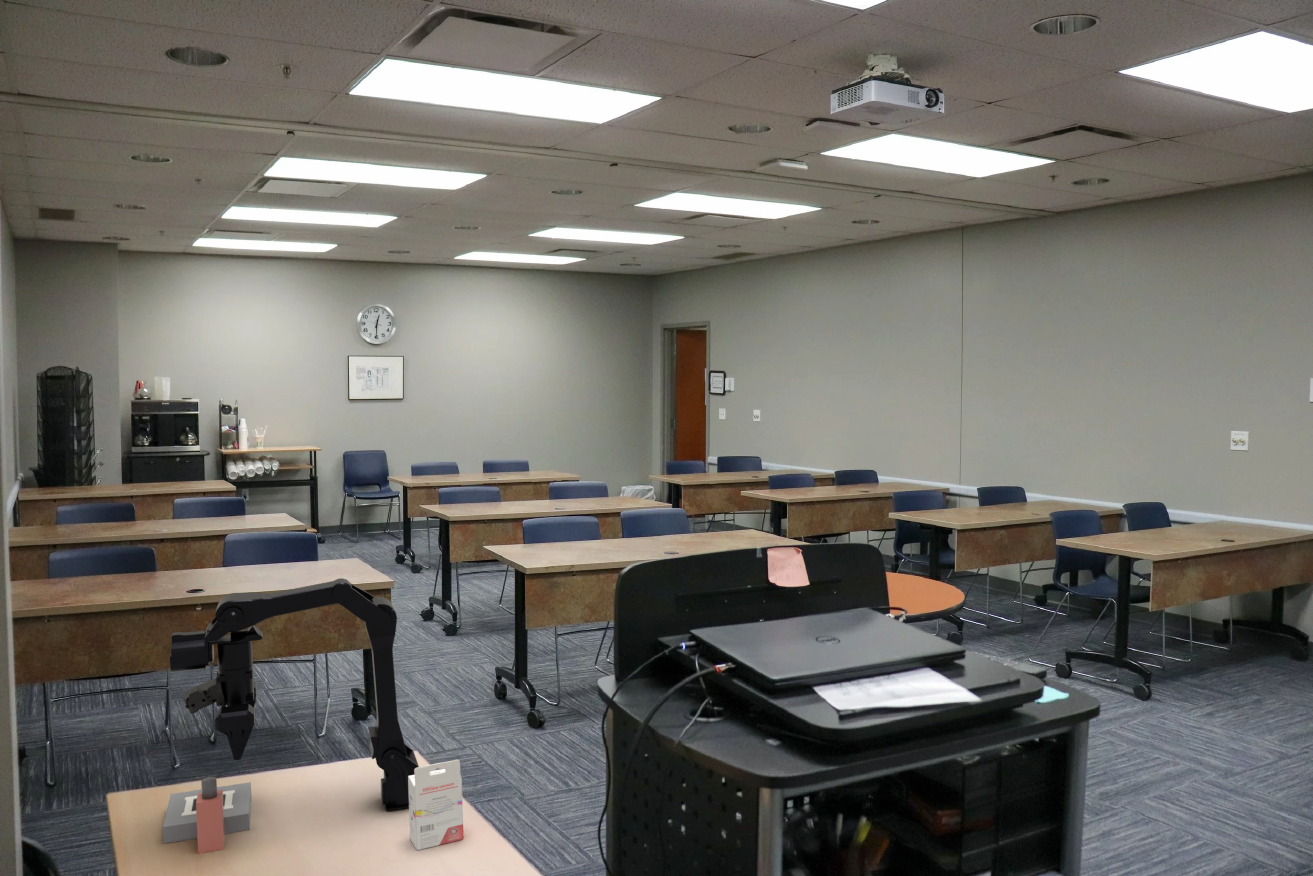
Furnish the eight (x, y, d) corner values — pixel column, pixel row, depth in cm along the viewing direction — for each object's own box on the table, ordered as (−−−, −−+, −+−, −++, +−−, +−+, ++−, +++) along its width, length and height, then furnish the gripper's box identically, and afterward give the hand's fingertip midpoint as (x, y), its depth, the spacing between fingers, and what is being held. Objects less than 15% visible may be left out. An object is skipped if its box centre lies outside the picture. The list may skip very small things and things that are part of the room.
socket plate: (251, 797, 189) (250, 781, 188) (249, 829, 176) (248, 812, 175) (171, 809, 184) (170, 793, 183) (163, 843, 171) (162, 826, 170)
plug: (224, 838, 172) (222, 773, 171) (223, 849, 169) (220, 782, 168) (200, 843, 171) (197, 777, 170) (198, 853, 167) (195, 786, 166)
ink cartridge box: (456, 828, 176) (454, 749, 175) (464, 840, 172) (462, 759, 170) (408, 839, 172) (406, 758, 171) (415, 851, 168) (413, 769, 167)
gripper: (190, 655, 179) (193, 737, 181) (180, 687, 162) (184, 777, 163) (255, 649, 183) (257, 729, 185) (252, 679, 166) (255, 767, 167)
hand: (238, 750), depth 175 cm, fingers open, 9 cm apart
